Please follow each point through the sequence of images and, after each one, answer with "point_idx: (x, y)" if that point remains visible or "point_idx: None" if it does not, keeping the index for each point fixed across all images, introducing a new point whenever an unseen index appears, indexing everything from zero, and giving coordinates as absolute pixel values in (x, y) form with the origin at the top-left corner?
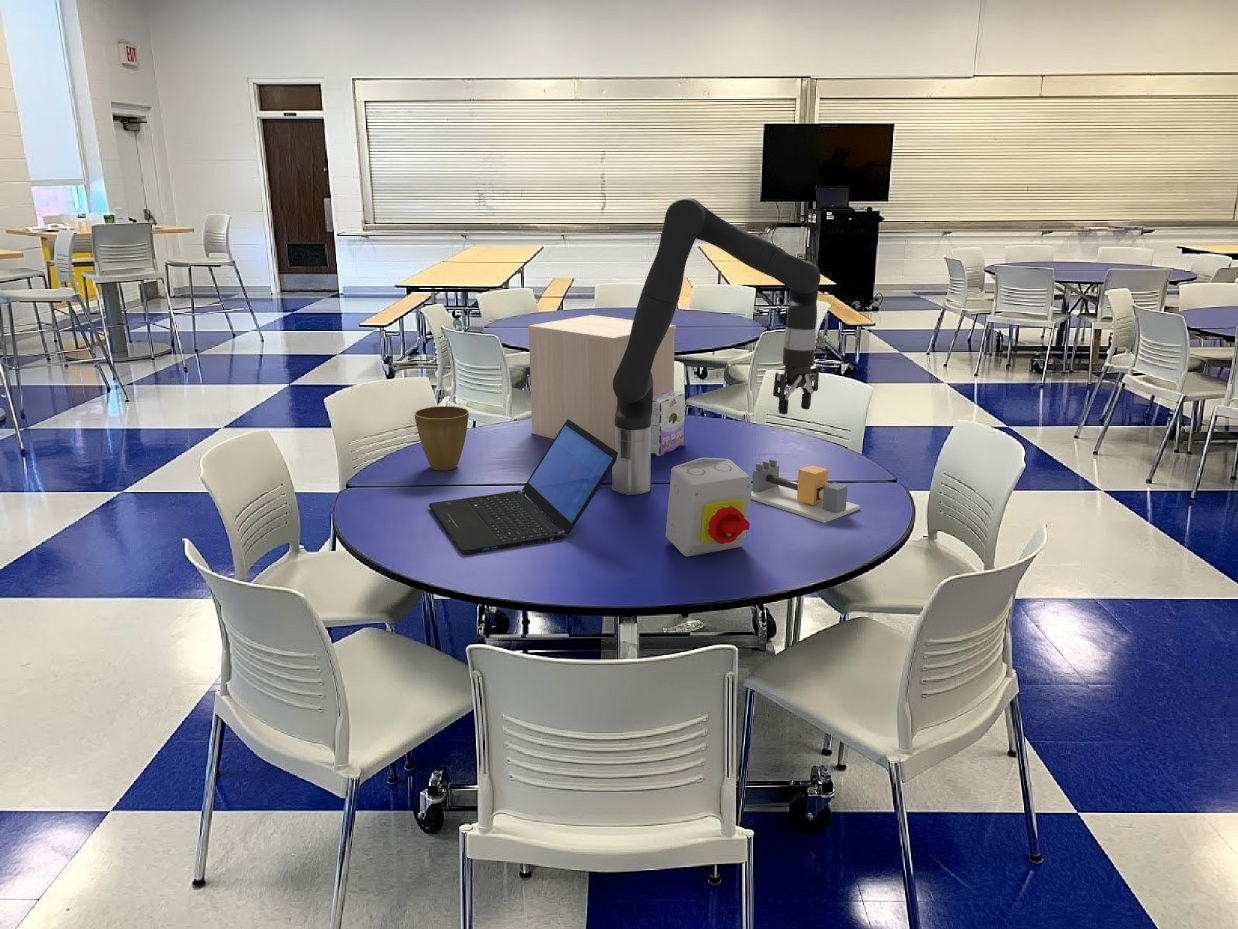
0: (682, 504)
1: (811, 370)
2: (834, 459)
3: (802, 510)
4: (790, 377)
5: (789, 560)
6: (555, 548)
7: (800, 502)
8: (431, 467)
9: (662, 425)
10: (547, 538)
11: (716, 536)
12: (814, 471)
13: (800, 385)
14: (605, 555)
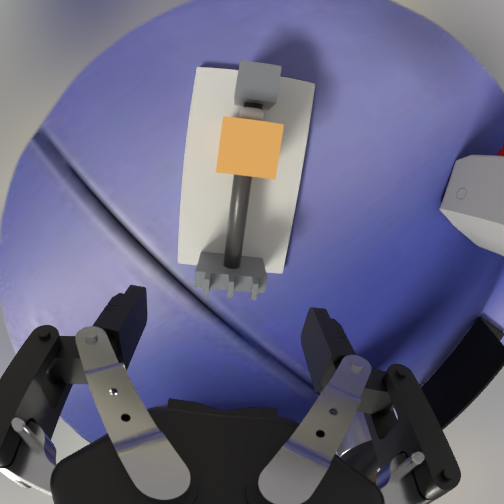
0: None
1: (35, 470)
2: (22, 262)
3: (300, 137)
4: (371, 485)
5: (455, 89)
6: (492, 305)
7: None
8: None
9: None
10: (486, 321)
11: None
12: (265, 136)
13: (217, 418)
14: (499, 265)
